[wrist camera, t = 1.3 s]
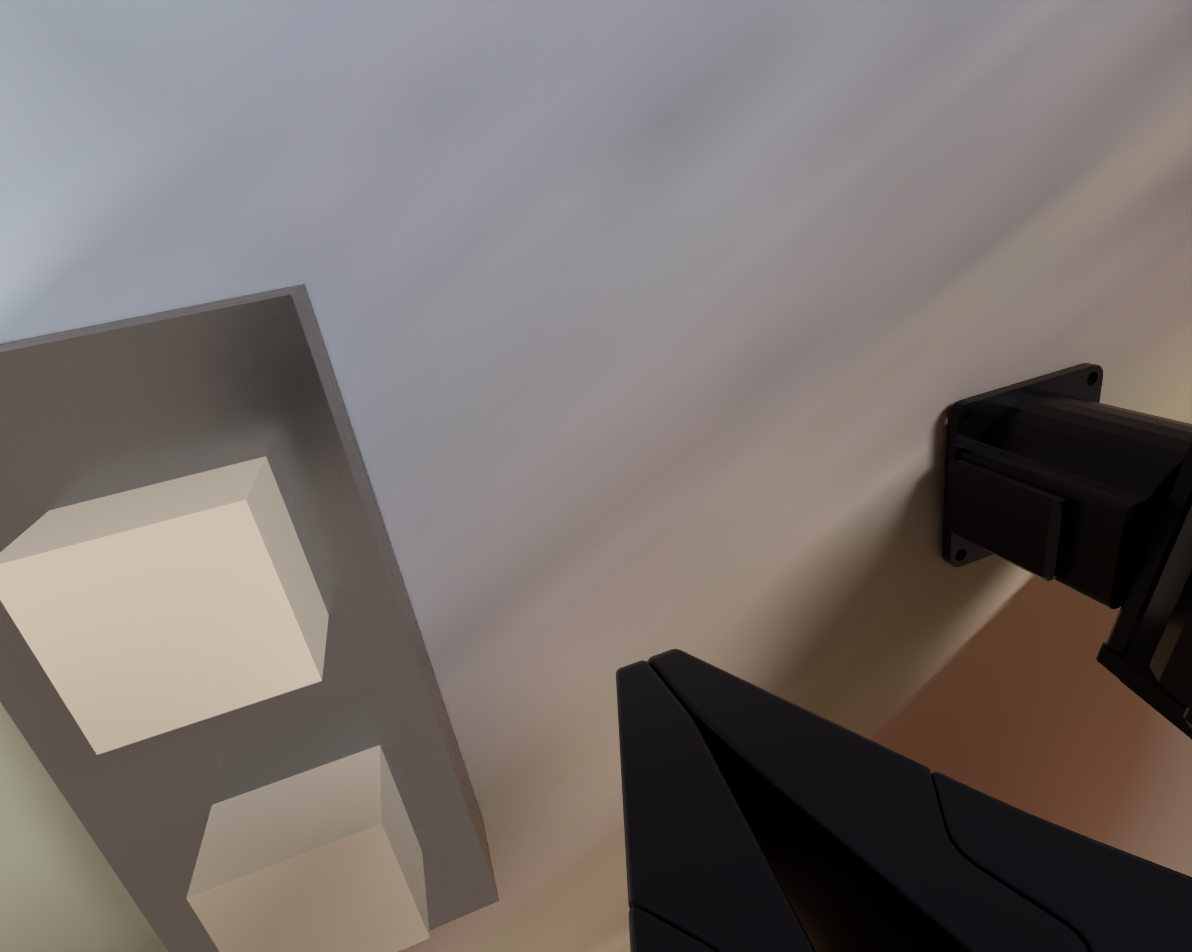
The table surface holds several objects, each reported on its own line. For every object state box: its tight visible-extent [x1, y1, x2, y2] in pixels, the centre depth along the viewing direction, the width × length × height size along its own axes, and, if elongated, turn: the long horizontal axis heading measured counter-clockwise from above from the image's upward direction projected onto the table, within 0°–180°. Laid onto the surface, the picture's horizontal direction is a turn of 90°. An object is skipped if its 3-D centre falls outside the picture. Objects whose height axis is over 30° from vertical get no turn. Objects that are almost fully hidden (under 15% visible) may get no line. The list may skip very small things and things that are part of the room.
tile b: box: [186, 745, 430, 952], centre depth 16 cm, size 4×4×2 cm
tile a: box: [0, 456, 329, 755], centre depth 13 cm, size 4×4×2 cm
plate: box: [0, 284, 499, 952], centre depth 17 cm, size 8×18×3 cm, turn 11°
